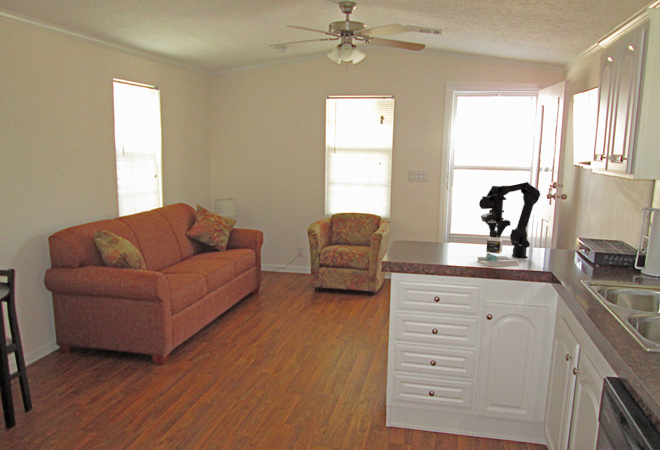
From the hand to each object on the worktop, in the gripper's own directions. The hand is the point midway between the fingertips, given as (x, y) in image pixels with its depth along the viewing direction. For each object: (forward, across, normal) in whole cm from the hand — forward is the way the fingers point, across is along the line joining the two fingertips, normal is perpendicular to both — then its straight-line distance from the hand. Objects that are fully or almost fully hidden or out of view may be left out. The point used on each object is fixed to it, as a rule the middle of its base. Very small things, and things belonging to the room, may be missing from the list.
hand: (495, 236), depth 278 cm
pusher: (+12, +10, -11) cm, 18 cm away
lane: (+13, +10, -4) cm, 16 cm away
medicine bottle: (+9, 0, 0) cm, 9 cm away
